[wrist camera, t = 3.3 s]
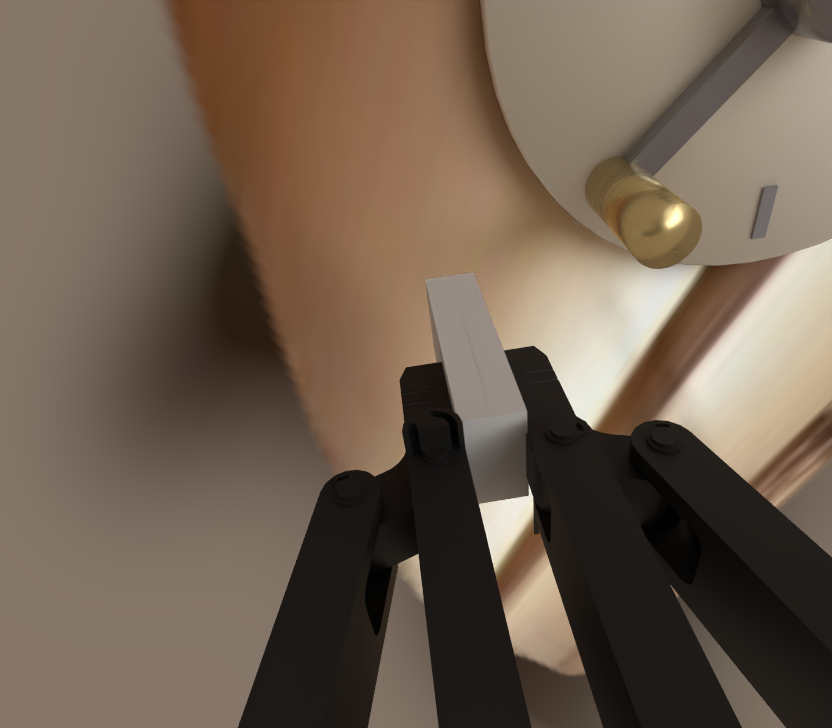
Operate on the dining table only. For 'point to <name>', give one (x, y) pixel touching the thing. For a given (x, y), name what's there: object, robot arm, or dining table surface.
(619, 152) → the dial board
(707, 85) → the crank handle
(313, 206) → the dining table surface
